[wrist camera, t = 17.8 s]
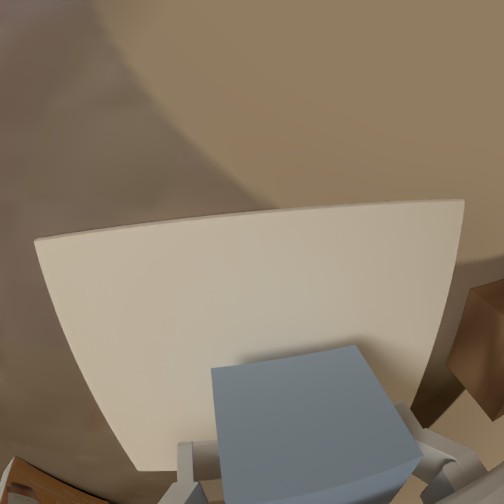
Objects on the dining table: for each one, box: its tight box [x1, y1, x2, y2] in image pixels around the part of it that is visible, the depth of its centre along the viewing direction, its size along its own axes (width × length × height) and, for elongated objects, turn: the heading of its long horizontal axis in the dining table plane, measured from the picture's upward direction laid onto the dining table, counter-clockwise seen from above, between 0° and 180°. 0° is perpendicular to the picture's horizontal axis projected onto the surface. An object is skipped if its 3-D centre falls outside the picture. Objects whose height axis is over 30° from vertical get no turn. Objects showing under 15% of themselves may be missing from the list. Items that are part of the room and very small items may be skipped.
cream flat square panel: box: [34, 198, 465, 471], centre depth 13 cm, size 14×16×1 cm
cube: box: [211, 345, 424, 504], centre depth 9 cm, size 5×5×5 cm
